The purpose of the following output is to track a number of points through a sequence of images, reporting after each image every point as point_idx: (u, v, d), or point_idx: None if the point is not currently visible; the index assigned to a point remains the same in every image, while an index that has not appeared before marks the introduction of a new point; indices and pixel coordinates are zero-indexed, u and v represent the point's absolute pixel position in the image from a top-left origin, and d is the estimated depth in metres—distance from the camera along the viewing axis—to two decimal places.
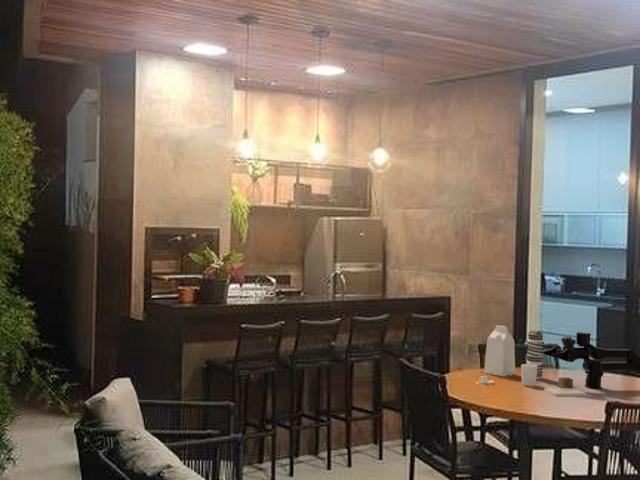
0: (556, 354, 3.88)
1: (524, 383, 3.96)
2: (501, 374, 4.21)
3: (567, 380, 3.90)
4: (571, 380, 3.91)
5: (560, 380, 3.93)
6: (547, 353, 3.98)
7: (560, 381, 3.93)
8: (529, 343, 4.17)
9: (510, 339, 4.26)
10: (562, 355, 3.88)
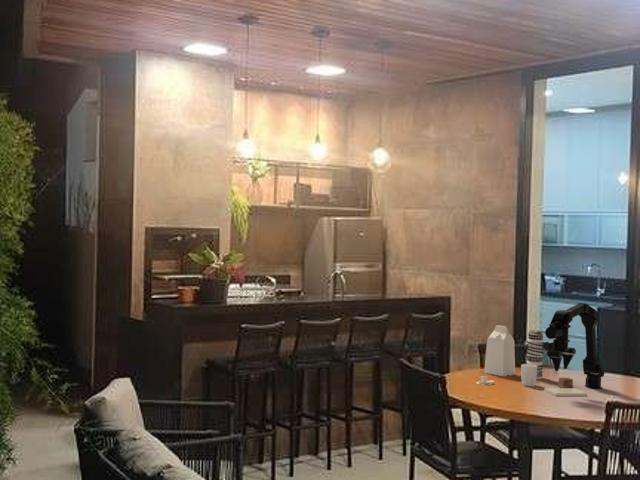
0: (555, 366, 3.72)
1: (524, 383, 3.96)
2: (501, 374, 4.21)
3: (567, 380, 3.90)
4: (571, 380, 3.91)
5: (560, 380, 3.93)
6: (566, 364, 3.79)
7: (560, 381, 3.93)
8: (529, 343, 4.17)
9: (510, 339, 4.26)
10: (555, 360, 3.72)
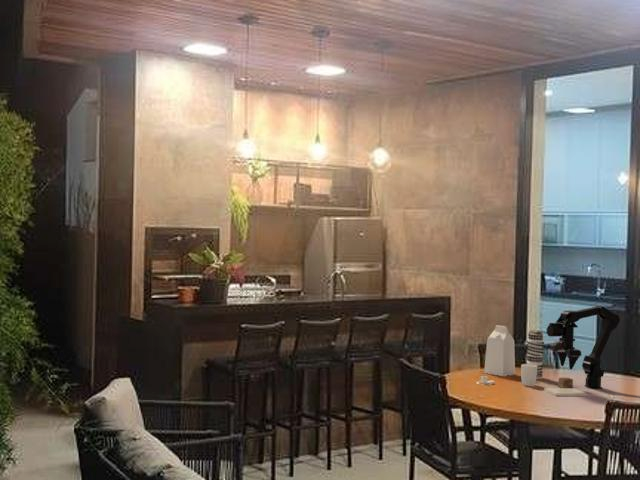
0: (571, 365, 3.87)
1: (524, 383, 3.96)
2: (501, 374, 4.21)
3: (567, 380, 3.90)
4: (571, 380, 3.91)
5: (560, 380, 3.93)
6: (563, 361, 3.97)
7: (560, 381, 3.93)
8: (529, 343, 4.17)
9: (510, 339, 4.26)
10: (572, 359, 3.87)
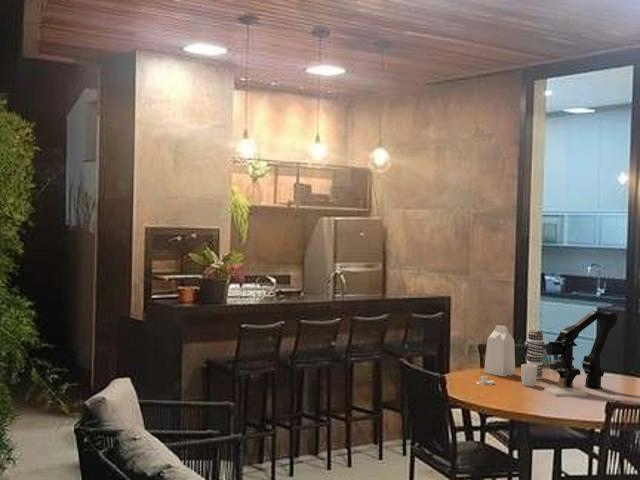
0: (568, 383, 3.89)
1: (524, 383, 3.96)
2: (501, 374, 4.21)
3: None
4: None
5: (560, 380, 3.93)
6: None
7: (560, 381, 3.93)
8: (529, 343, 4.17)
9: (510, 339, 4.26)
10: (569, 377, 3.89)
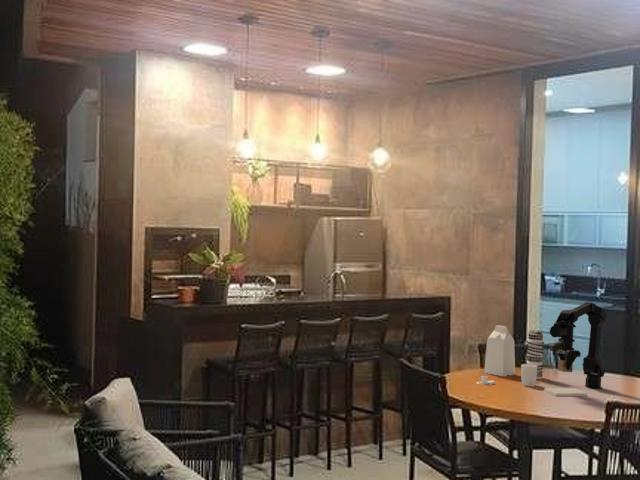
0: (568, 365, 3.78)
1: (524, 383, 3.96)
2: (501, 374, 4.21)
3: None
4: None
5: (560, 362, 3.82)
6: None
7: (560, 363, 3.82)
8: (529, 343, 4.17)
9: (510, 339, 4.26)
10: (569, 359, 3.78)
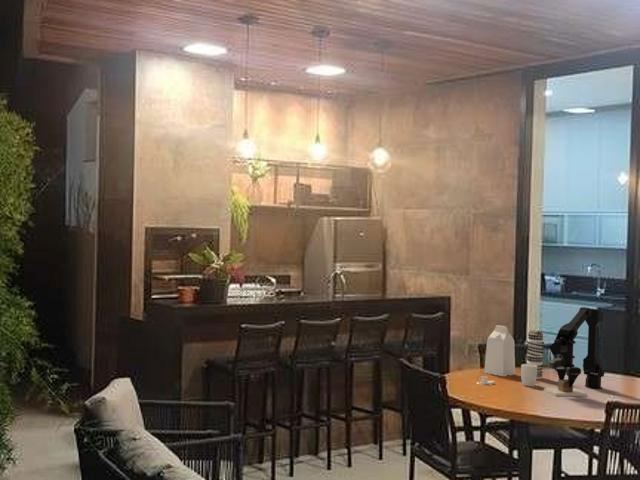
0: (570, 383, 3.75)
1: (524, 383, 3.96)
2: (501, 374, 4.21)
3: (567, 382, 3.77)
4: None
5: (560, 382, 3.80)
6: (562, 379, 3.85)
7: (560, 383, 3.80)
8: (529, 343, 4.17)
9: (510, 339, 4.26)
10: (572, 377, 3.74)
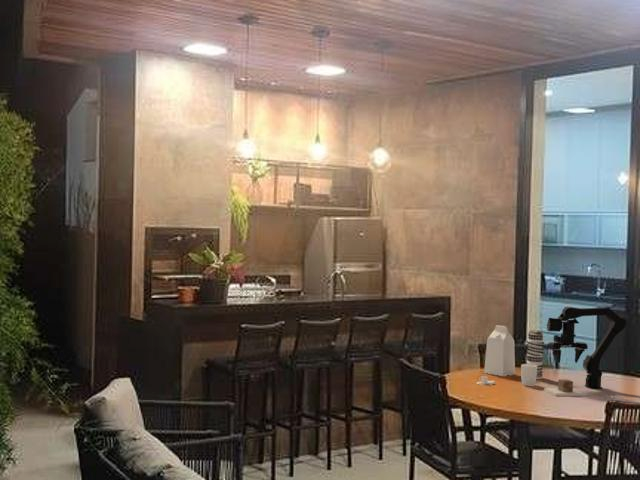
0: (557, 358, 3.97)
1: (524, 383, 3.96)
2: (501, 374, 4.21)
3: (567, 382, 3.77)
4: (571, 382, 3.78)
5: (560, 382, 3.80)
6: (576, 358, 3.98)
7: (560, 383, 3.80)
8: (529, 343, 4.17)
9: (510, 339, 4.26)
10: (557, 352, 3.96)
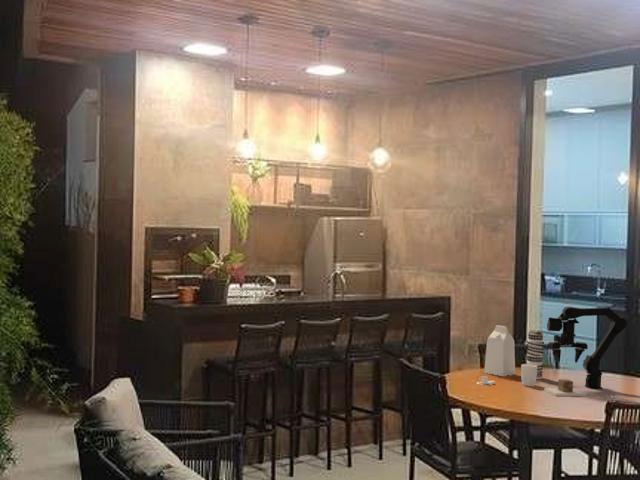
0: (557, 358, 3.97)
1: (524, 383, 3.96)
2: (501, 374, 4.21)
3: (567, 382, 3.77)
4: (571, 382, 3.78)
5: (560, 382, 3.80)
6: (576, 358, 3.98)
7: (560, 383, 3.80)
8: (529, 343, 4.17)
9: (510, 339, 4.26)
10: (557, 352, 3.97)
